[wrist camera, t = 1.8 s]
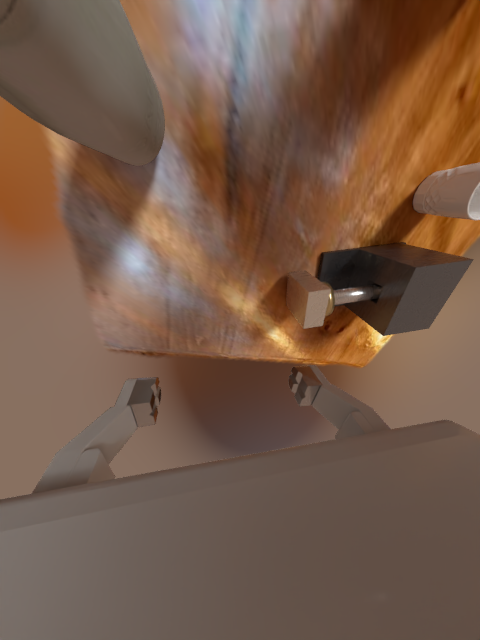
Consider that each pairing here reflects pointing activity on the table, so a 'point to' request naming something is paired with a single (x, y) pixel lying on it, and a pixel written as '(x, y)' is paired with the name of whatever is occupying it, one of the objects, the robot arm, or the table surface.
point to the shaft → (321, 297)
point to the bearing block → (395, 283)
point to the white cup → (451, 193)
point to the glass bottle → (81, 75)
